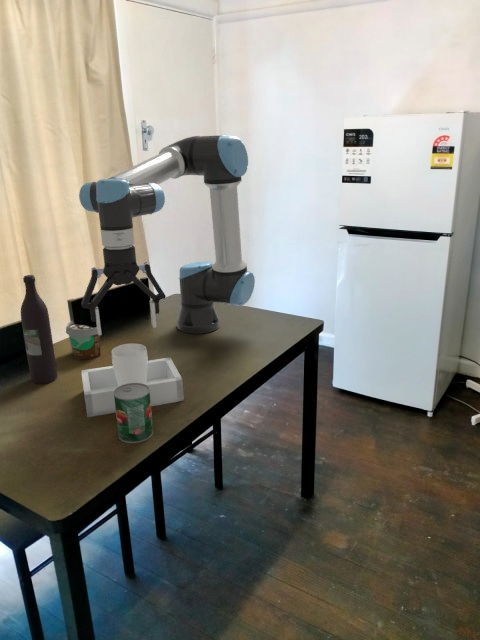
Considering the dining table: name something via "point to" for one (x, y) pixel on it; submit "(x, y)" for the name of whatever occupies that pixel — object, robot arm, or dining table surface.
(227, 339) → the dining table surface
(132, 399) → the canned tomato
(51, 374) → the wine bottle
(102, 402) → the bin
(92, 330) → the food container
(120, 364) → the cup
